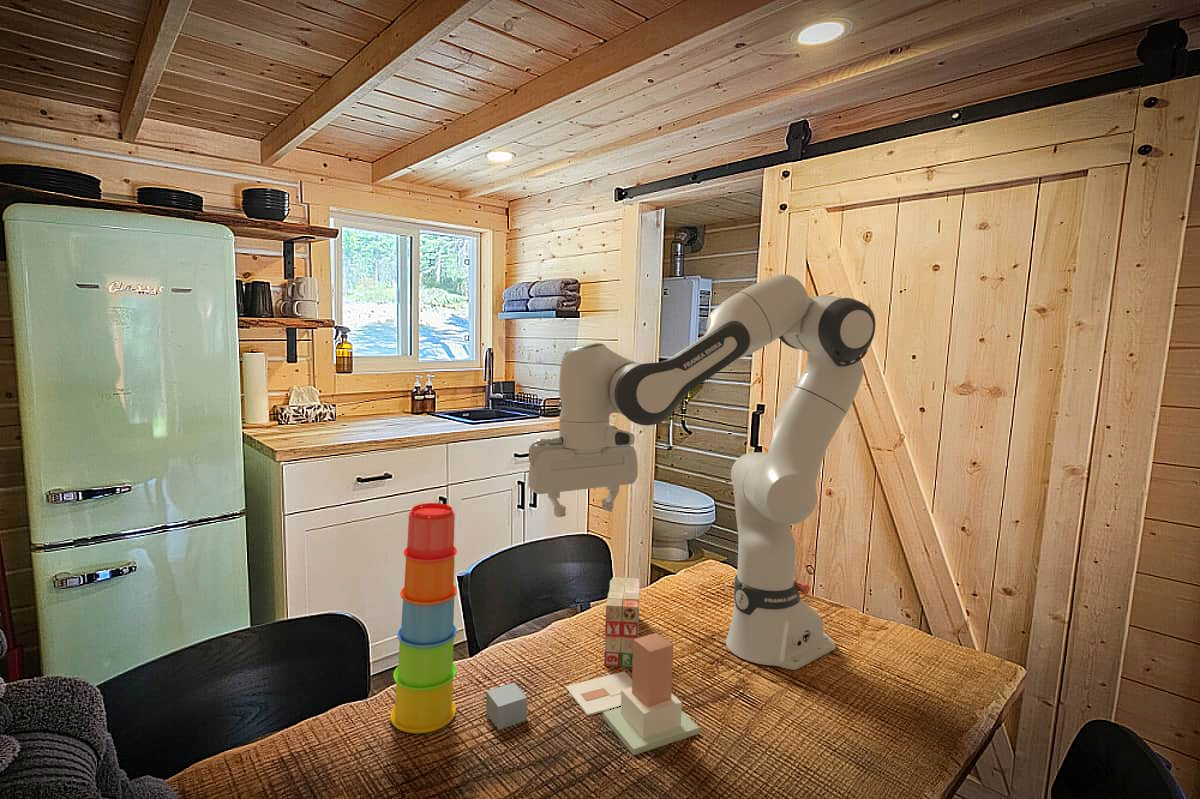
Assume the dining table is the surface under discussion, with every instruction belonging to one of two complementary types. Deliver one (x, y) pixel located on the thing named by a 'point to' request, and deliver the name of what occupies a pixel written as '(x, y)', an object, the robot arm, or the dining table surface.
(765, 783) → the dining table surface
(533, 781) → the dining table surface
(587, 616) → the dining table surface
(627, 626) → the stack of blocks
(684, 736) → the tower base
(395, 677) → the stacking cups
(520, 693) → the slate brick
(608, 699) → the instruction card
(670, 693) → the terracotta brick
